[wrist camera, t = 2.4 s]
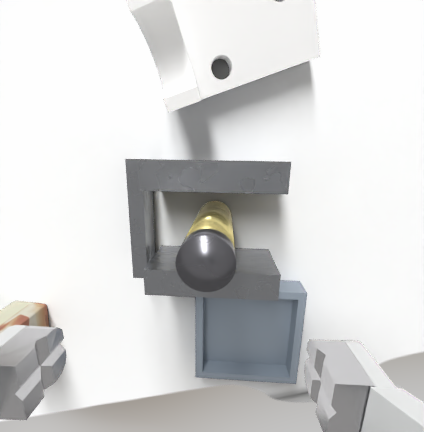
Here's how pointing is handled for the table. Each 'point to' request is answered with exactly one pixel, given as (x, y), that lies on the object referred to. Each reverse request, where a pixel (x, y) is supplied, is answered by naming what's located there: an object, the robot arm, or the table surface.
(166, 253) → the clevis block
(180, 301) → the table surface
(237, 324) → the tray
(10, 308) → the skincare box
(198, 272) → the pin
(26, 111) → the table surface
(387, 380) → the robot arm
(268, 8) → the bracket
